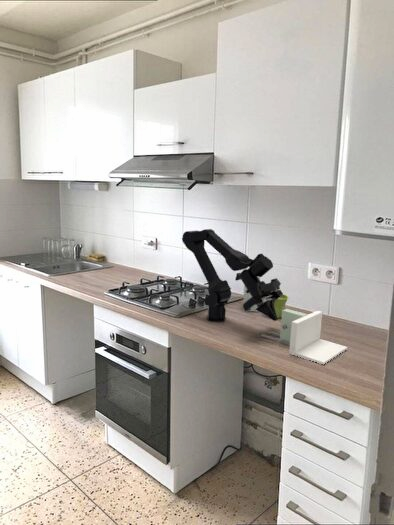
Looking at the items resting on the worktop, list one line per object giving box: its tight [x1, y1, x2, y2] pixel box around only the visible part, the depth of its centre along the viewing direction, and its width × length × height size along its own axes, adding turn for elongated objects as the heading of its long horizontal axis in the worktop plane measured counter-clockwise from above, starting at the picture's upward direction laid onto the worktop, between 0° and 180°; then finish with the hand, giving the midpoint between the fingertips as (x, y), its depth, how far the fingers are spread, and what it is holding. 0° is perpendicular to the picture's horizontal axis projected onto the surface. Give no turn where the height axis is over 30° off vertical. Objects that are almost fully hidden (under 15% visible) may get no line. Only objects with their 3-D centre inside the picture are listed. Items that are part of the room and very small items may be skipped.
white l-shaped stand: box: [261, 310, 348, 365], centre depth 143 cm, size 27×18×11 cm, turn 48°
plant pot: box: [274, 293, 289, 319], centre depth 175 cm, size 9×9×9 cm
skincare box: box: [242, 276, 261, 312], centre depth 182 cm, size 8×7×16 cm
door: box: [279, 308, 308, 343], centre depth 144 cm, size 8×4×11 cm, turn 48°
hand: (276, 320), depth 149 cm, fingers closed
